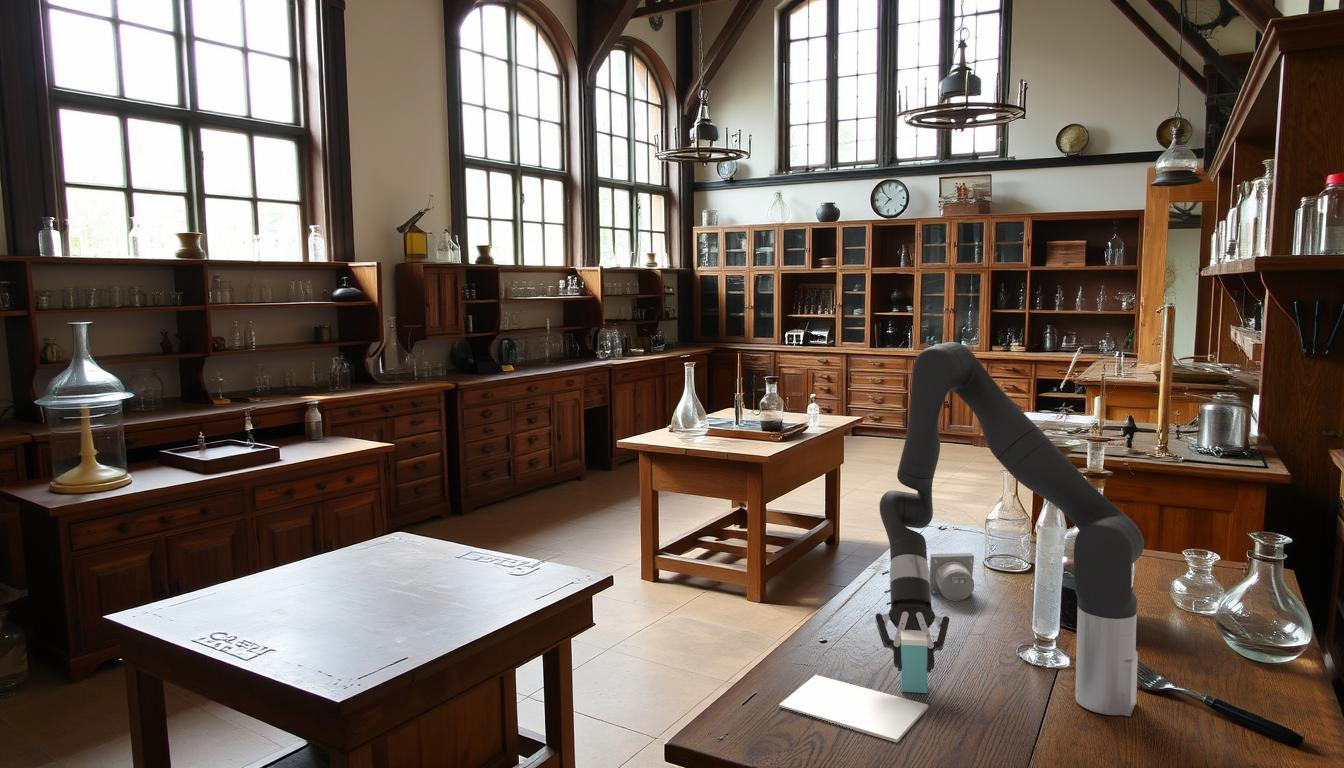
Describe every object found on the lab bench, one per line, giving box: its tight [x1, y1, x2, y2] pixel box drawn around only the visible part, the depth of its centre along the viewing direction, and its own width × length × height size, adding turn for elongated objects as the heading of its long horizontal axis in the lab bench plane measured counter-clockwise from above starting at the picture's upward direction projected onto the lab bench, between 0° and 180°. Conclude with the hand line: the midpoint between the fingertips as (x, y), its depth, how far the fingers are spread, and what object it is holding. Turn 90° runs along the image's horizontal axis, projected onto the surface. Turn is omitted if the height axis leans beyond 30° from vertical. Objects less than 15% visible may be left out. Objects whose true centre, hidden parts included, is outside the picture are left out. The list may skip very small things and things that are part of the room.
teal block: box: [899, 630, 928, 694], centre depth 162 cm, size 4×4×10 cm
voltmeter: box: [881, 552, 975, 606], centre depth 204 cm, size 27×11×10 cm, turn 123°
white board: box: [778, 674, 929, 744], centre depth 156 cm, size 22×14×1 cm, turn 54°
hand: (914, 669), depth 161 cm, fingers closed on teal block, 4 cm apart
